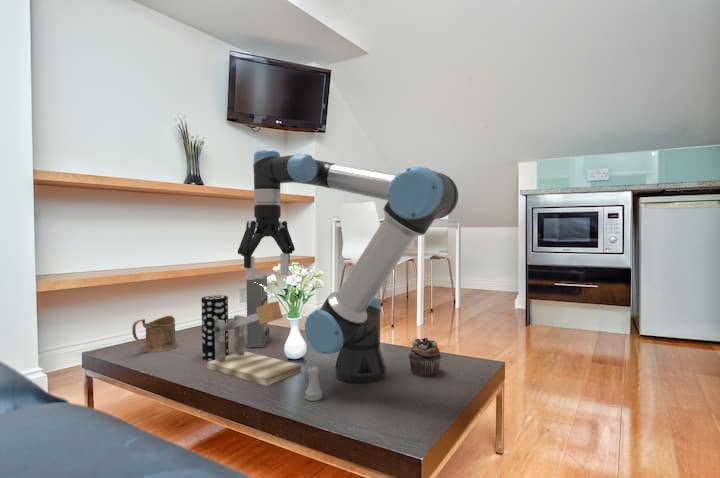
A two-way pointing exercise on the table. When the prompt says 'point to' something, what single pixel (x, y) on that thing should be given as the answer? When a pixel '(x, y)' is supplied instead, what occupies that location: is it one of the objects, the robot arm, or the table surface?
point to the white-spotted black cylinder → (213, 323)
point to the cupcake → (424, 358)
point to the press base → (247, 360)
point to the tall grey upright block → (256, 298)
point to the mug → (158, 334)
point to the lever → (258, 316)
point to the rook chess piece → (313, 384)
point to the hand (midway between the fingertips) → (268, 277)
